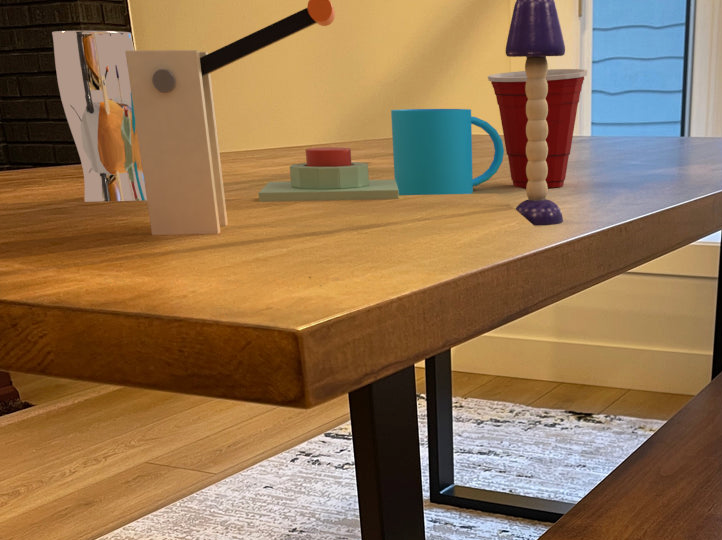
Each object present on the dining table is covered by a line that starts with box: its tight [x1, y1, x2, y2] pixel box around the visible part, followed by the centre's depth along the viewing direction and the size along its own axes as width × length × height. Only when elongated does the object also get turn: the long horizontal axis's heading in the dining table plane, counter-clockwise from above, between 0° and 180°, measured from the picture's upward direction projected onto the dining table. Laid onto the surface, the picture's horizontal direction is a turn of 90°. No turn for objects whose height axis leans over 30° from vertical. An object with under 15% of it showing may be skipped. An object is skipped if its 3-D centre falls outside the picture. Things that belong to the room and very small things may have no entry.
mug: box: [390, 108, 505, 196], centre depth 104 cm, size 12×8×8 cm
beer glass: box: [51, 30, 147, 203], centre depth 91 cm, size 7×7×15 cm
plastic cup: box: [487, 68, 588, 189], centre depth 109 cm, size 11×11×12 cm
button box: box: [257, 161, 400, 203], centre depth 91 cm, size 12×10×4 cm
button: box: [305, 146, 352, 167], centre depth 90 cm, size 4×4×2 cm
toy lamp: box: [505, 0, 566, 226], centre depth 80 cm, size 5×5×17 cm
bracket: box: [125, 49, 229, 236], centre depth 68 cm, size 11×9×13 cm
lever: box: [200, 0, 336, 77], centre depth 66 cm, size 13×6×2 cm, turn 97°
